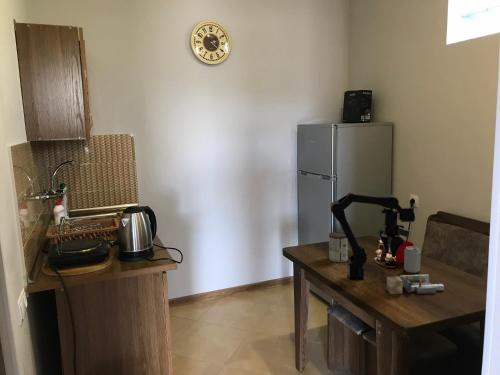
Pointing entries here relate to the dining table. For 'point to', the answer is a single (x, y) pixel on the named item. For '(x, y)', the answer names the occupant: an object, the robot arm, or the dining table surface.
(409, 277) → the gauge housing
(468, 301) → the dining table surface
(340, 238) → the coffee can
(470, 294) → the dining table surface
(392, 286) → the block
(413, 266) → the can
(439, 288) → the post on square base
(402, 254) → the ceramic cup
